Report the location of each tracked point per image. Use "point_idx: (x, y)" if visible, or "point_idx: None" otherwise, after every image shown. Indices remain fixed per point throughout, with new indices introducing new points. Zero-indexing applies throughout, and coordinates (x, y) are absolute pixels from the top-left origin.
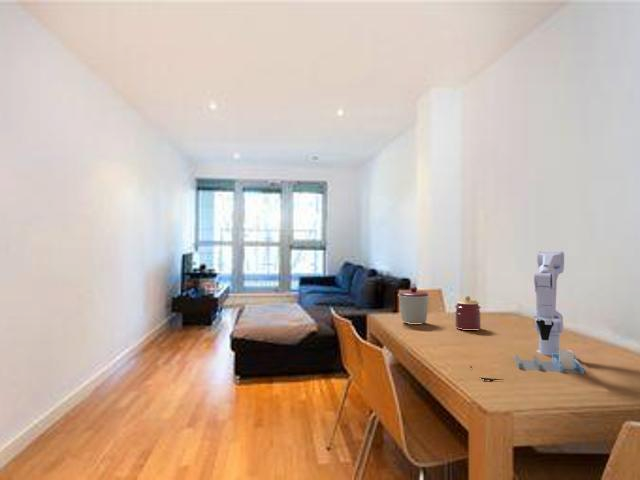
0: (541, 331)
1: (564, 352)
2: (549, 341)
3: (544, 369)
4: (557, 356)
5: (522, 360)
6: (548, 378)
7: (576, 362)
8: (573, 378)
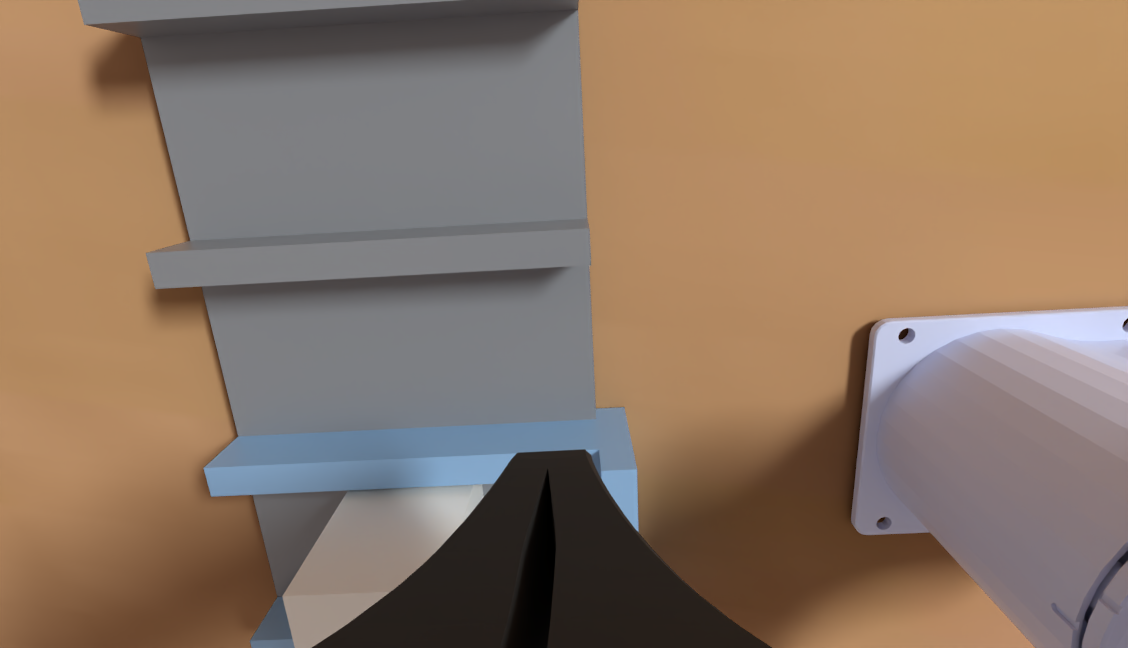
0: (426, 575)
1: (294, 629)
2: (1002, 532)
3: (252, 301)
4: None
5: (554, 75)
6: (39, 306)
7: None
8: (171, 514)
